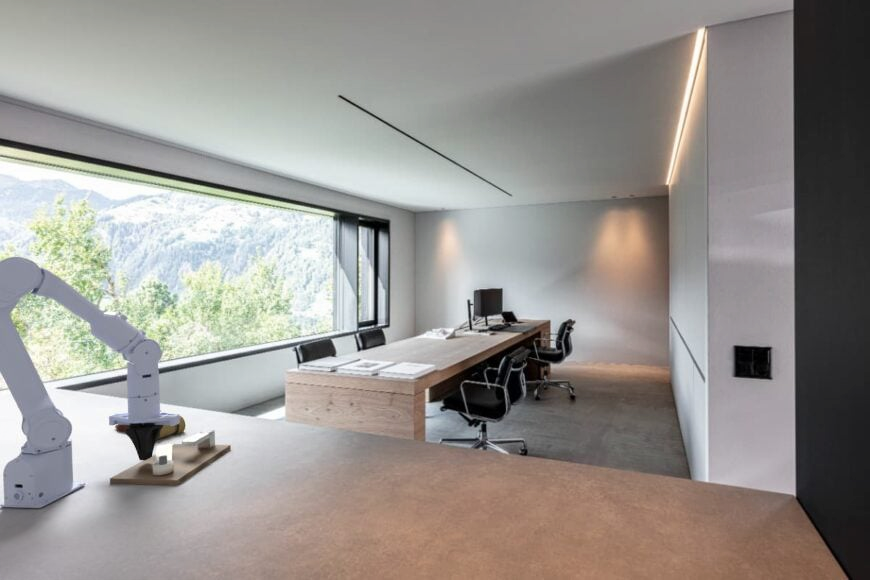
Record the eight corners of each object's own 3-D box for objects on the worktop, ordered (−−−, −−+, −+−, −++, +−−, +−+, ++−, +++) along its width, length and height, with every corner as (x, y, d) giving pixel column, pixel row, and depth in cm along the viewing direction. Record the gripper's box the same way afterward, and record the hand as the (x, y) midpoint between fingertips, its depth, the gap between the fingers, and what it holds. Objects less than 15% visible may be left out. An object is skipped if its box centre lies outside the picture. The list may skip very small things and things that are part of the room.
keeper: (195, 457, 100) (194, 441, 100) (182, 457, 100) (181, 441, 100) (215, 445, 107) (214, 430, 107) (202, 445, 108) (202, 430, 107)
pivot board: (177, 485, 88) (177, 480, 88) (109, 483, 90) (109, 478, 90) (230, 449, 107) (230, 445, 107) (174, 448, 109) (174, 444, 109)
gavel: (95, 423, 120) (133, 413, 129) (96, 440, 120) (135, 429, 129) (148, 426, 112) (185, 415, 121) (149, 445, 112) (186, 433, 121)
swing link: (173, 473, 91) (173, 457, 91) (152, 477, 89) (152, 461, 89) (174, 451, 104) (173, 437, 104) (155, 454, 102) (155, 440, 102)
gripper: (188, 390, 100) (190, 451, 100) (126, 389, 102) (128, 450, 102) (166, 398, 93) (168, 464, 93) (99, 398, 95) (102, 463, 95)
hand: (145, 458), depth 97 cm, fingers closed
